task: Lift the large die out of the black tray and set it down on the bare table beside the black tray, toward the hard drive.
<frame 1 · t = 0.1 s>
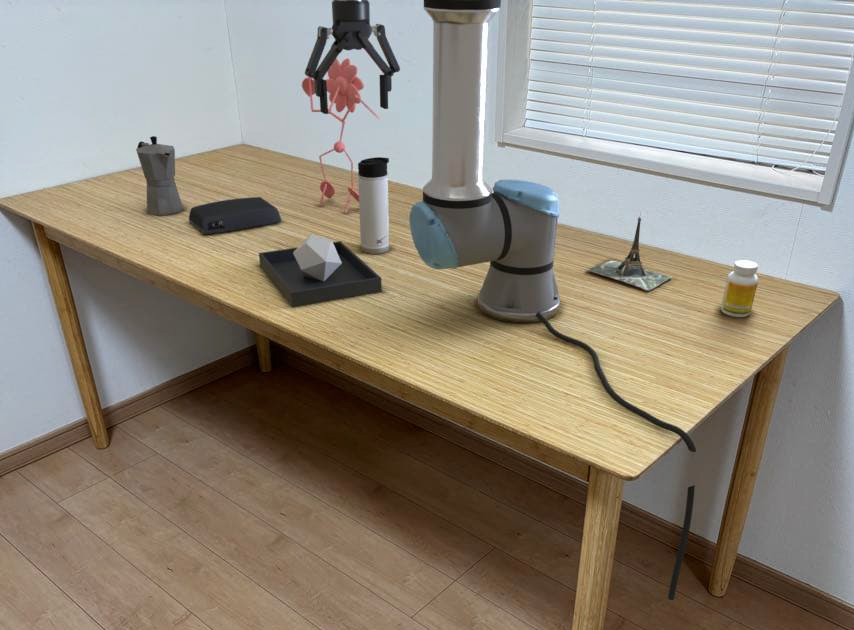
hand: (354, 110, 170), 28 cm above the table, tool pointing down, fingers open, 13 cm apart
figurine: (351, 204, 207), on the table
eiffel tower figurine: (629, 276, 165), on the table
die: (318, 277, 163), resting on black tray
travel mug: (375, 250, 178), on the table
coffeepot: (163, 209, 202), on the table
black tray: (318, 278, 163), on the table
hard drive: (235, 223, 193), on the table
supplement bottle: (735, 313, 150), on the table
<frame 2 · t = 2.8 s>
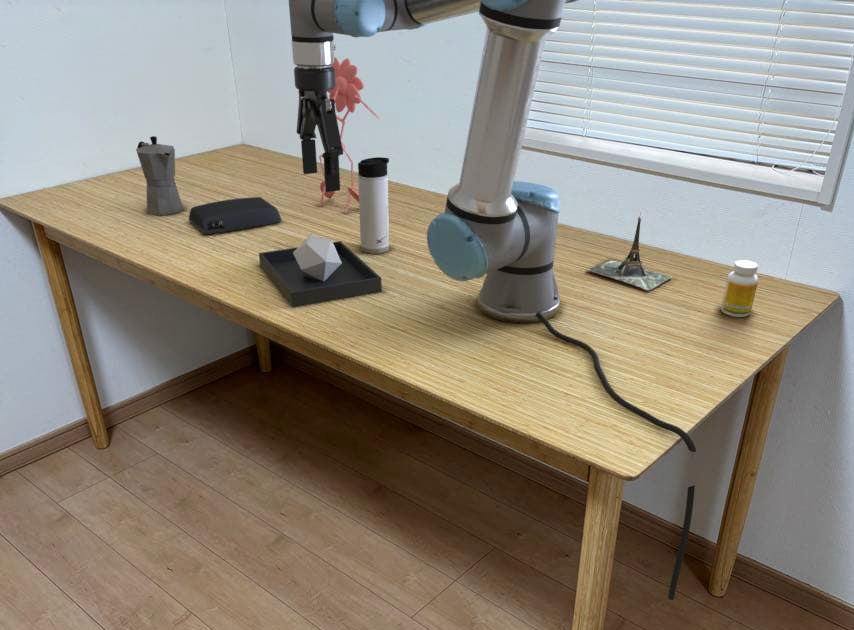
hand: (321, 181, 157), 18 cm above the table, tool pointing down, fingers open, 13 cm apart
nothing on the table moved.
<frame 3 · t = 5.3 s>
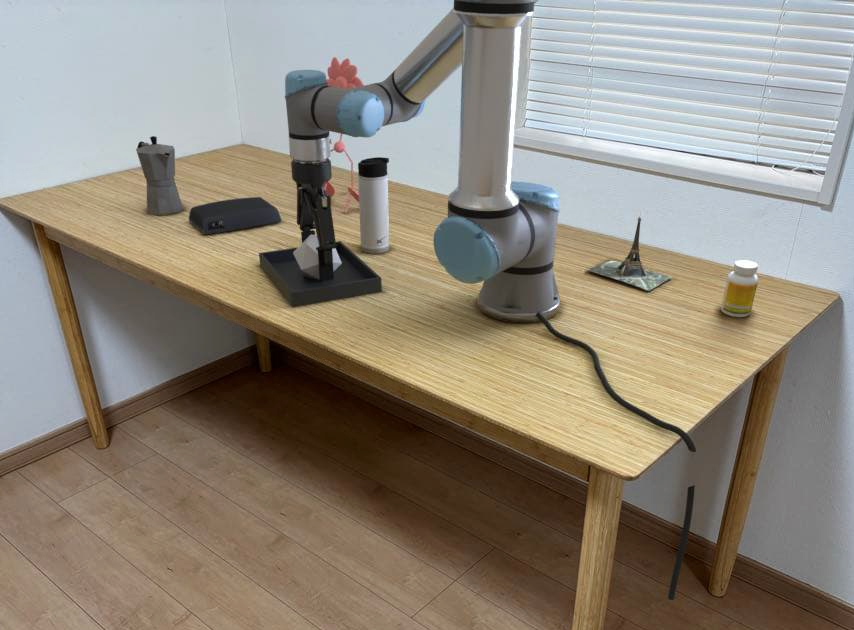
hand: (318, 270, 162), 2 cm above the table, tool pointing down, fingers closed on die, 10 cm apart
die: (318, 277, 163), resting on black tray, touching gripper
everything else where it was.
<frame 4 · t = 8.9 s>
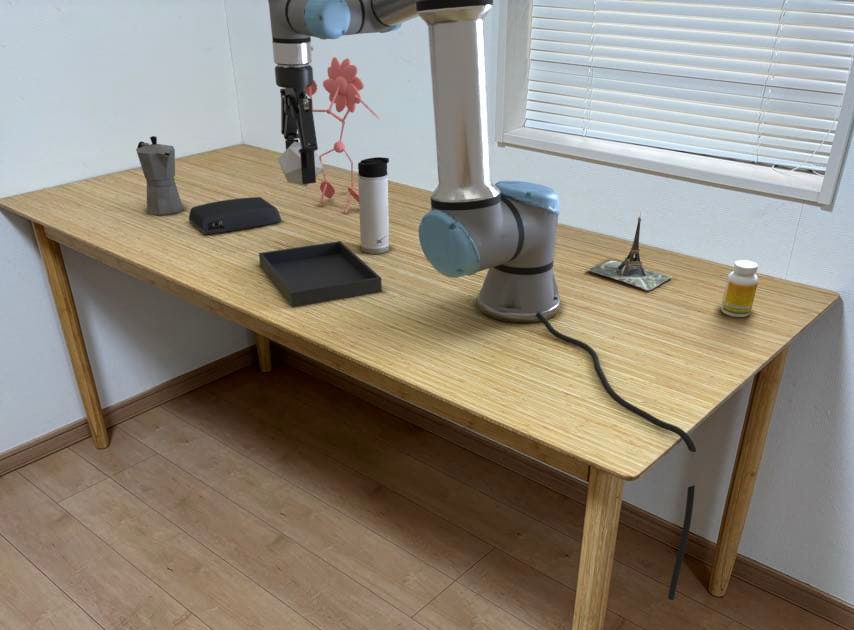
hand: (301, 176, 171), 16 cm above the table, tool pointing down, fingers closed on die, 10 cm apart
die: (301, 183, 172), point 14 cm above the table, touching gripper
everything else where it was.
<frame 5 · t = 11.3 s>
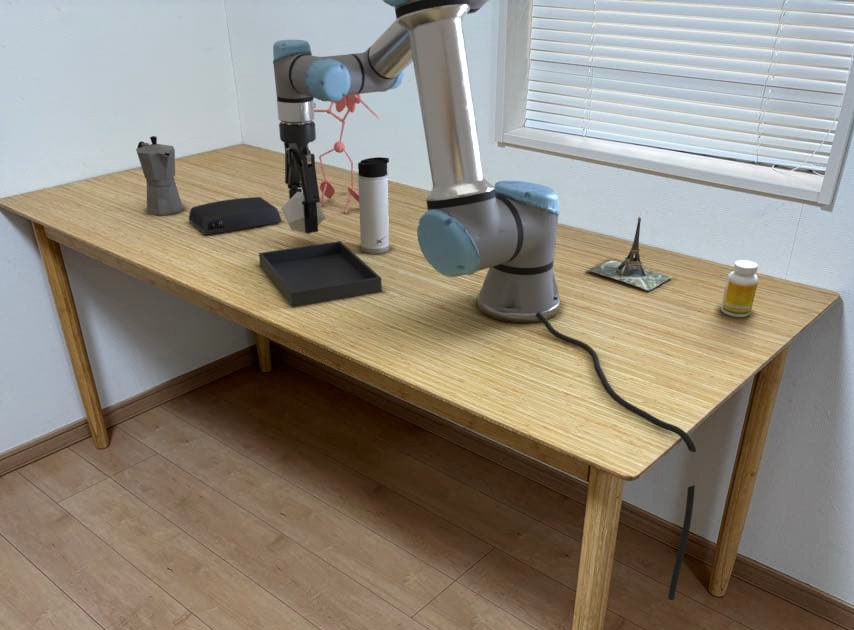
hand: (304, 224, 178), 4 cm above the table, tool pointing down, fingers closed on die, 10 cm apart
die: (304, 231, 179), point 3 cm above the table, touching gripper
everything else where it was.
when the fingers open (1 cm above the table, at t = 12.7 s): die stays where it is, on the table.
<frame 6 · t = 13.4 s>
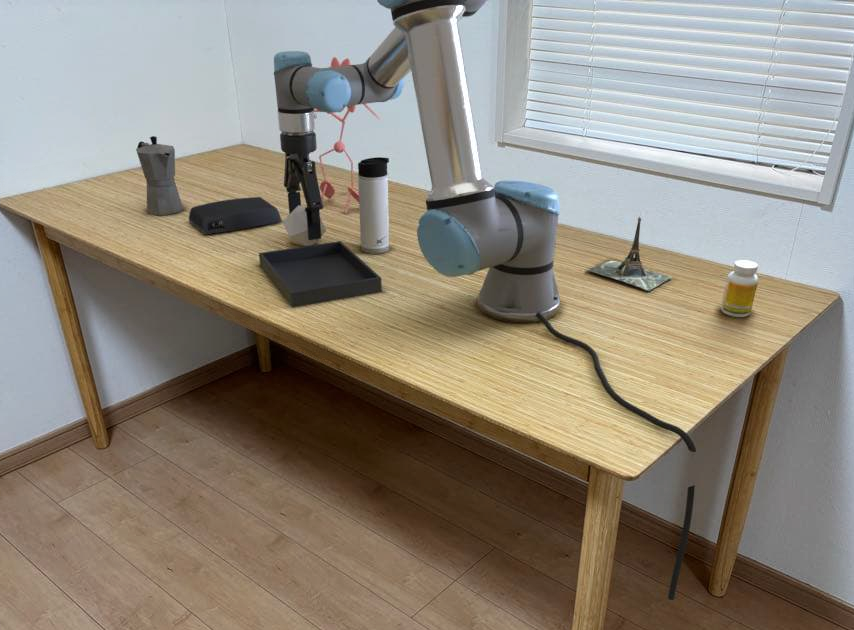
hand: (305, 229, 179), 3 cm above the table, tool pointing down, fingers open, 13 cm apart
die: (305, 244, 181), on the table
everything else where it was.
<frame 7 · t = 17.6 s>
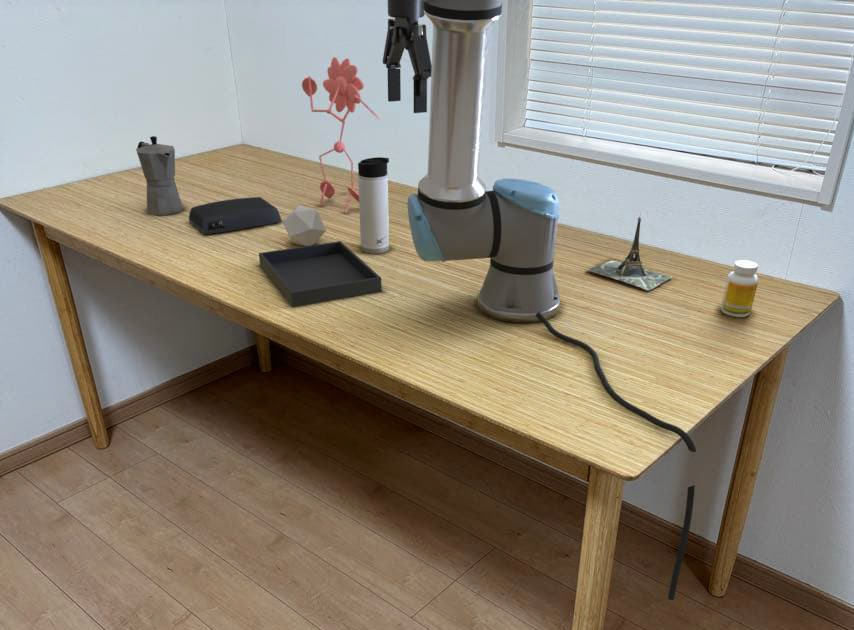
hand: (406, 106, 170), 29 cm above the table, tool pointing down, fingers open, 13 cm apart
nothing on the table moved.
at the end: die inside the target area (0.1 cm from its centre), on the table; die touching table; the gripper is holding nothing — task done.
